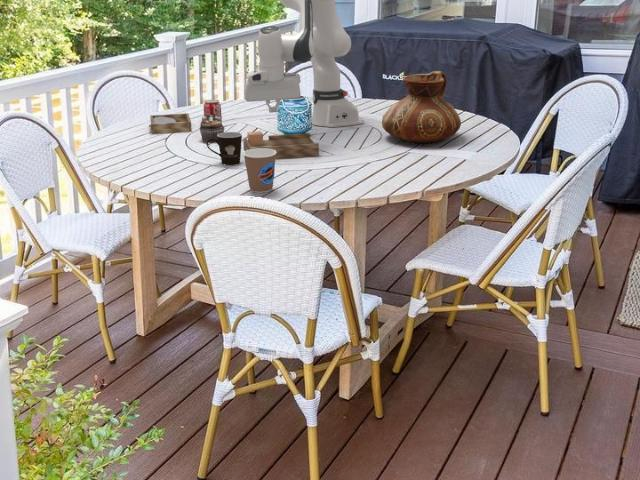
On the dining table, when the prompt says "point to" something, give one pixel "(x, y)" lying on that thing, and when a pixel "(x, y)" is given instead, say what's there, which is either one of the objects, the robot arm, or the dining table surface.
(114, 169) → the dining table surface
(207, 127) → the cupcake
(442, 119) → the jug
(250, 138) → the block
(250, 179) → the coffee cup
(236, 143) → the coffee mug
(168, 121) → the stone block
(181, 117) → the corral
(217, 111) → the soda can
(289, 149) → the trap box
